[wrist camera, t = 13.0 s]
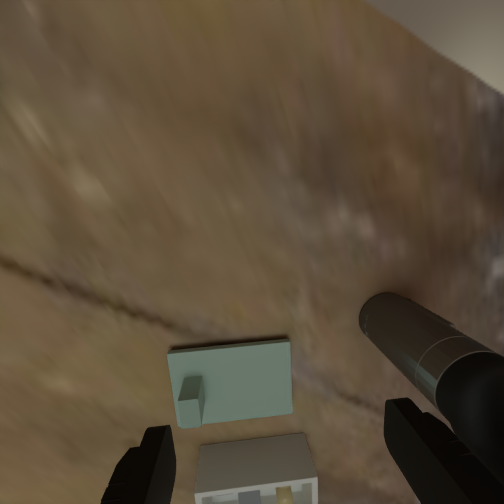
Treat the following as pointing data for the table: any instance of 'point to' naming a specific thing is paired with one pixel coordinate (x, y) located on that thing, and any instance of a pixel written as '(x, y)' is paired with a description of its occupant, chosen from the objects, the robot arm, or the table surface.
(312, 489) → the parts tub
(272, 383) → the lid
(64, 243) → the table surface
